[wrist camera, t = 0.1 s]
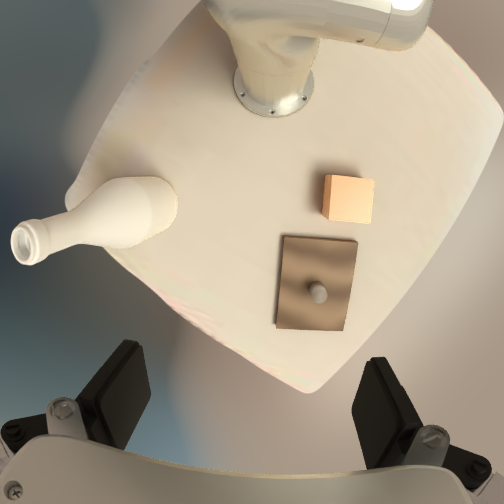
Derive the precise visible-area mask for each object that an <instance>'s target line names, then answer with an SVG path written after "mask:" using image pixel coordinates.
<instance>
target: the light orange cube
mask: <svg viewBox="0 0 504 504" xmlns="http://www.w3.org/2000/svg"><path fill="white" fill-rule="evenodd" d="M373 192H374V180H371V179H363V178H356V177H348V176H340V175H325V182H324V196H323V208H322V215H323V216H324V217H325V218H327V219H328V220H337V221H348V222H358V223H368V224H370V222H371V213H372V203H373Z"/></svg>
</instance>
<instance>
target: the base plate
mask: <svg viewBox="0 0 504 504" xmlns="http://www.w3.org/2000/svg"><path fill="white" fill-rule="evenodd" d="M357 248H358V242H356V241H350V240H337V239H324V238H311V237H298V236H284V243H283V255H282V267H281V278H280V289H279V300H278V310H277V320H276V328H278V329H297V330H322V331H343V328H344V323H345V319H346V314H347V309H348V303H349V298H350V292H351V287H352V281H353V275H354V268H355V262H356V255H357Z"/></svg>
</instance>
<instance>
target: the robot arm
mask: <svg viewBox="0 0 504 504" xmlns="http://www.w3.org/2000/svg"><path fill="white" fill-rule="evenodd" d="M203 2H204V4H205V6H206V8H207V10H208V12H209V13H210V15H211V16H212V17H213V19H214V20H215V21H216V22H217V24H218V25H219V26H220V27H221V28H222V29H223V30H224V31H225V32H226V33H227V35H228V37H229V39H230V42H231V45H232V48H233V51H234V54H235V57H236V60H237V64H238V67H237V69H236V71H235V75H234V87H235V91H236V94H237V96H238V98H239V99H240V101H241V102H242V103H243V105H244V106H245V107H246V108H248V109H249V110H251V111H252V112H254V113H256V114H258V115H261V116H265V117H272V118H278V117H285V116H289V115H291V114H294V113H296V112H297V111H299V110H300V109H302V108H303V107H304V106H305V105H306V104H307V102H308V101H309V99H310V97H311V95H312V93H313V89H314V78H313V73H312V71H311V67H312V64H313V62H314V59H315V56H316V54H317V51H318V48H319V43H320V38H325V39H332V40H338V41H344V42H350V43H355V44H360V45H364V46H369V47H373V48H378V49H383V50H388V51H404V50H407V49H410V48H411V47H413V46H414V45H416V44H417V43H418V41H419V40H420V39H421V37H422V36H423V34H424V32H425V29H426V27H427V25H428V22H429V19H430V15H431V11H432V7H433V2H434V0H203ZM243 94H244V97H242V96H241V95H243ZM302 98H305V100H302ZM272 111H273V112H274V114H271V112H272ZM150 396H151V390H150V386H149V381H148V376H147V370H146V365H145V360H144V354H143V348H142V346H141V345H139V343H138V342H137V341H132V340H127V339H125V340H123V342H122V343H121V344H120V345H119V346H118V348H117V349H116V350H115V351H114V352H113V354H112V355H111V356H110V357H109V358H108V360H107V361H106V362H105V363H104V365H103V366H102V367H101V368H100V369H99V370H98V372H97V373H96V374H95V375H94V377H93V378H92V379H91V380H90V382H89V383H88V384H87V385H86V387H85V388H84V389H83V390H82V392H81V393H80V394H79V395H78V397H77V398H76V399H75V400H74V399H71V398H68V397H59V398H56V399H54V400H52V401H51V402H50V403H49V404H48V405H47V407H46V413H45V414H40V415H36V416H30V417H26V418H20V419H14V420H10V421H8V422H7V423H5V424H4V425H3V426H2V429H1V434H0V504H504V477H503V476H502V475H500V474H499V473H497V472H496V473H495V474H493V473H492V472H491V471H492V468H491V464H490V462H489V461H488V460H487V459H486V458H484V457H483V456H480V455H477V454H474V453H472V452H469V451H466V450H463V449H461V448H458V447H455V446H453V445H450V436H449V434H448V432H447V431H446V430H445V429H444V428H442V427H440V426H437V425H426V426H423V424H422V422H421V420H420V418H419V416H418V414H417V412H416V410H415V408H414V406H413V404H412V402H411V400H410V399H409V397H408V395H407V393H406V391H405V389H404V388H403V386H401V385H400V383H399V381H398V379H397V377H396V375H395V374H394V372H393V370H392V368H391V366H390V365H389V363H388V361H387V359H386V358H385V357H372V358H371V359H370V361H367V363H366V365H365V368H364V371H363V375H362V378H361V381H360V384H359V387H358V390H357V393H356V396H355V399H354V402H353V405H352V416H353V420H354V423H355V427H356V430H357V434H358V438H359V441H360V445H361V449H362V452H363V456H364V460H365V464H366V468H367V470H361V471H353V472H341V473H329V474H328V473H327V474H309V475H308V474H307V475H306V474H305V475H277V474H253V473H240V472H229V471H220V470H213V469H206V468H199V467H193V466H187V465H182V464H177V463H171V462H167V461H162V460H158V459H154V458H150V457H146V456H142V455H138V454H135V453H131V452H127V451H124V449H125V447H126V445H127V443H128V441H129V439H130V437H131V435H132V433H133V431H134V429H135V427H136V425H137V423H138V421H139V419H140V417H141V415H142V413H143V411H144V409H145V407H146V405H147V404H148V402H149V399H150Z"/></svg>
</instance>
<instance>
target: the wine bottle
mask: <svg viewBox="0 0 504 504" xmlns="http://www.w3.org/2000/svg"><path fill="white" fill-rule="evenodd" d="M177 207H178V203H177V197H176V194H175V192H174V190H173V188H172V187H171V185H170V184H168V183H167V182H166V181H165V180H163V179H161V178H159V177H154V176H144V177H119V178H114V179H111V180H109V181H107V182H105V183H104V184H102V185H101V186H100V187H98V188H97V189H96V190H95V191H94V192H93V193H91V194H90V195H89V196H88V197H87V198H86V199H84V200H83V201H82V202H81V203H80V204H79V205H78V206H77V207H75V208H74V209H72V210H71V211H69V212H65V213H62V214H58V215H55V216H51V217H48V218H44V219H42V220H37V219H31V220H28V221H24V222H21V223H20V224H19V225H18V226H17V227H16V228H15V229H14V230H13V232H12V236H11V247H12V251H13V254H14V255H15V258H16V259H17V260H18V261H19V262H20V263H22V264H28V265H33V264H35V263H38V262H40V261H42V260H44V259H45V258H46V257H47V255H49V254H52V253H55V252H57V251H60V250H62V249H65V248H67V247H70V246H72V245H75V244H90V245H97V246H103V247H108V248H116V249H125V248H130V247H133V246H135V245H137V244H139V243H141V242H143V241H144V240H146V239H148V238H150V237H152V236H154V235H156V234H158V233H159V232H161V231H163V230H165V229H166V228H168V227H169V226H170V225H171V223H172V222H173V220H174V218H175V216H176V213H177Z"/></svg>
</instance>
